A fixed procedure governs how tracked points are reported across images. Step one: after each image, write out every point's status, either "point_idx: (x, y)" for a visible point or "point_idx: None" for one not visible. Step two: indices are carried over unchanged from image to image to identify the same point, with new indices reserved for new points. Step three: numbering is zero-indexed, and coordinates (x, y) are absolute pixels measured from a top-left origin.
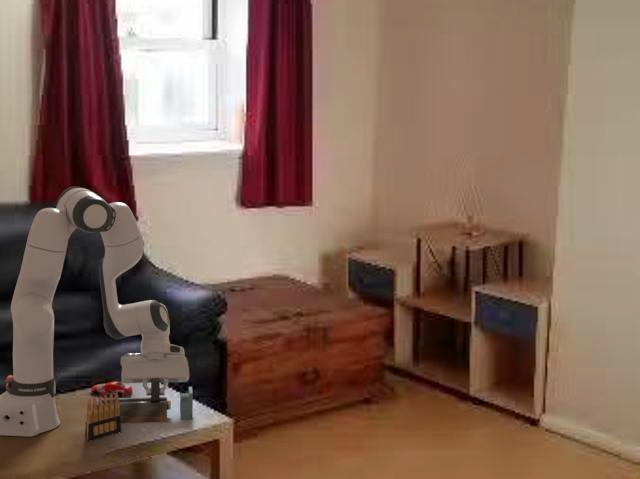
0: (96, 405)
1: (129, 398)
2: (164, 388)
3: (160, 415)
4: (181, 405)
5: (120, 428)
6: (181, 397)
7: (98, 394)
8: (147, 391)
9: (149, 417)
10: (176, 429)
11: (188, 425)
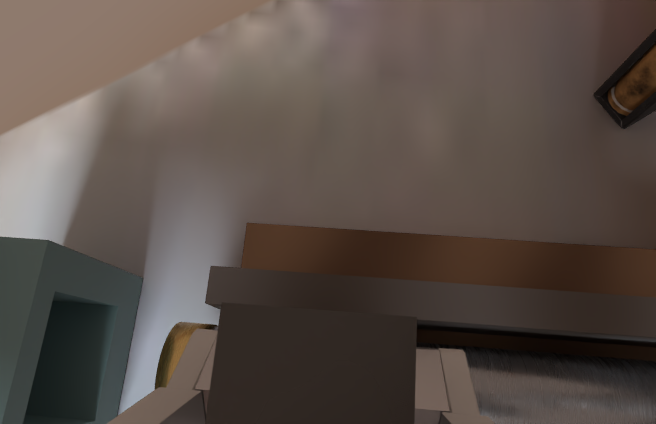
0: None
1: None
2: (173, 374)
3: (296, 271)
4: (75, 252)
5: (612, 75)
6: (14, 329)
7: None
8: (449, 363)
9: (393, 241)
10: (211, 94)
11: (115, 151)
